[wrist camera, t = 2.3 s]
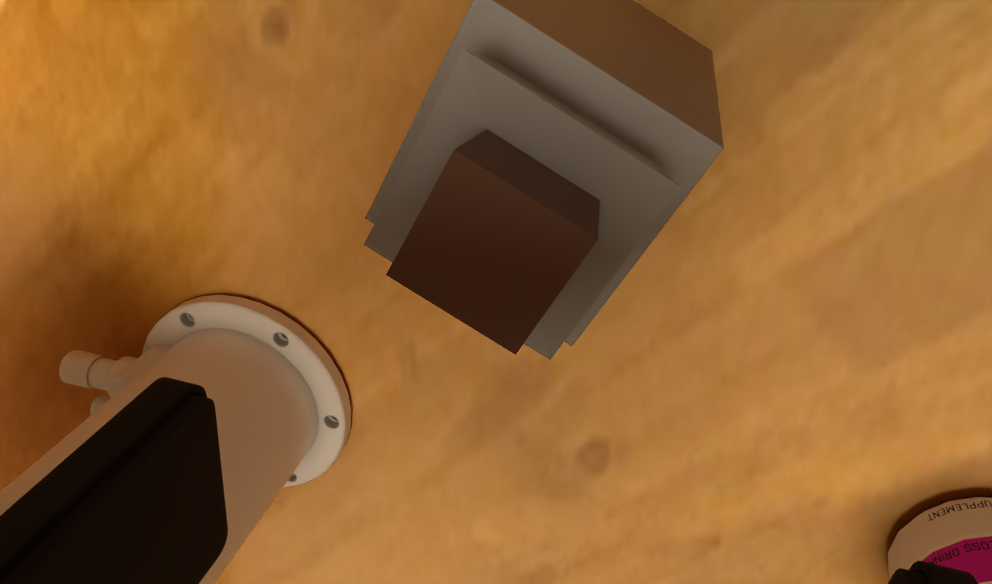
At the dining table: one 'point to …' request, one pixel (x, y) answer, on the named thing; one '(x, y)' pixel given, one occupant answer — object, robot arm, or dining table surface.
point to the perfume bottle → (545, 164)
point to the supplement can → (948, 538)
